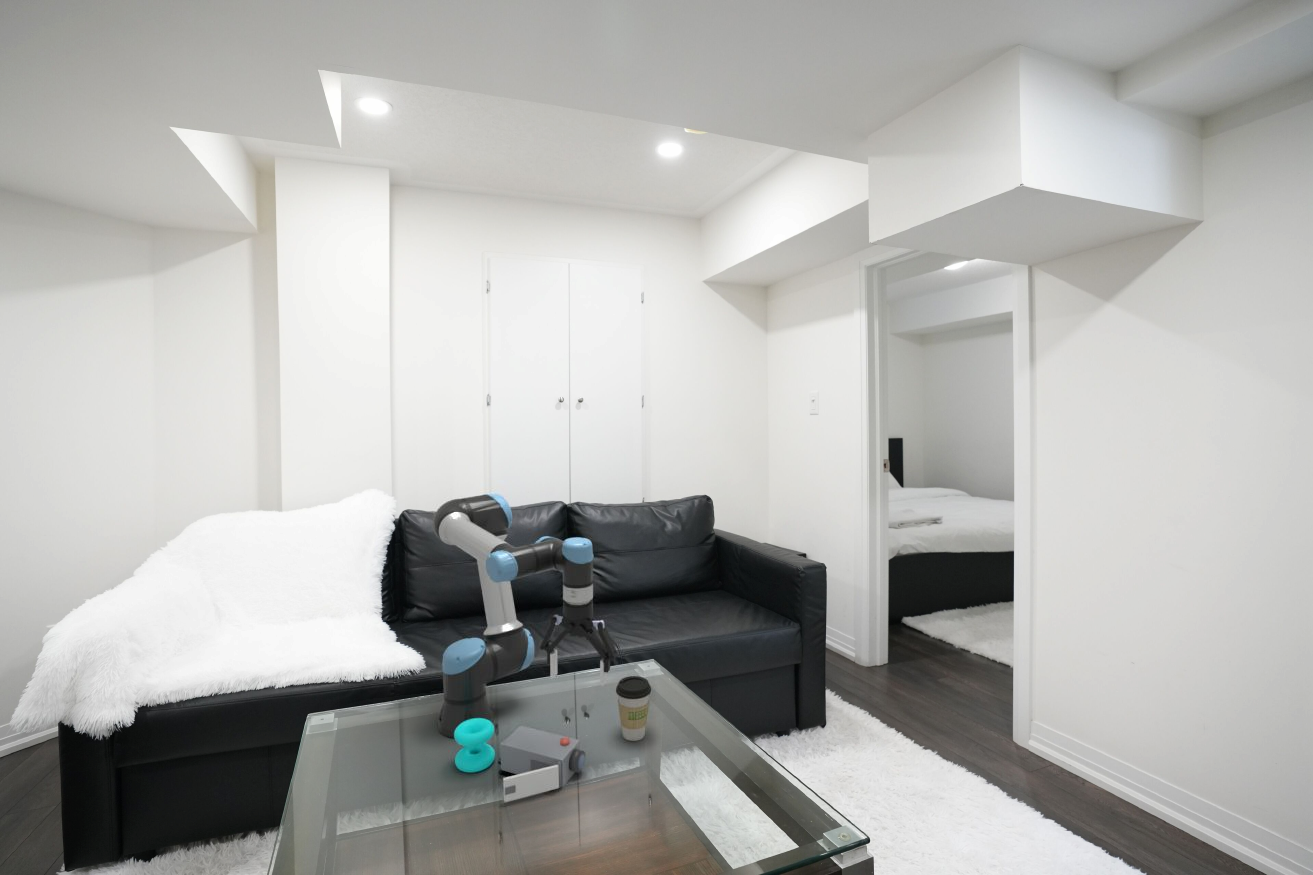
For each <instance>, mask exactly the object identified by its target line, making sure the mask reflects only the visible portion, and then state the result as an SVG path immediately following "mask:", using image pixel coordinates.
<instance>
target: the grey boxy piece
mask: <svg viewBox="0 0 1313 875" xmlns="http://www.w3.org/2000/svg"><path fill="white" fill-rule="evenodd" d="M499 745H500V770H501V771H503V772H504V771H505V772H508V773H511V774H515V775H518V774H522V773H526V772H530V771H534V770H538V769H542V768H546V767H550V766H554V765H557V762H558V761H561V788H564V787H565V786H566V784H567V783H568V782H569V781H570V779H572V777H573V776H574V775H575V774H576V773H580V772H581V771H582V770H583V768H584V766H585V762H586V752H585V751H584V750H583V749H581V740H579V739H578V738H577V739H576V738H573V737H569V736H565V735H560V734H557V733H552V732H548V731H544V730H540V729H536V728H533V727H528V726H526V725H525V726H524V725H519V727H518V728H516V729H515V730H514V731H513V732H511V734H510V735H509V736H508V737H507V738H505V739H504V740H503V741H502V742H501V743H500V744H499Z"/></svg>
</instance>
